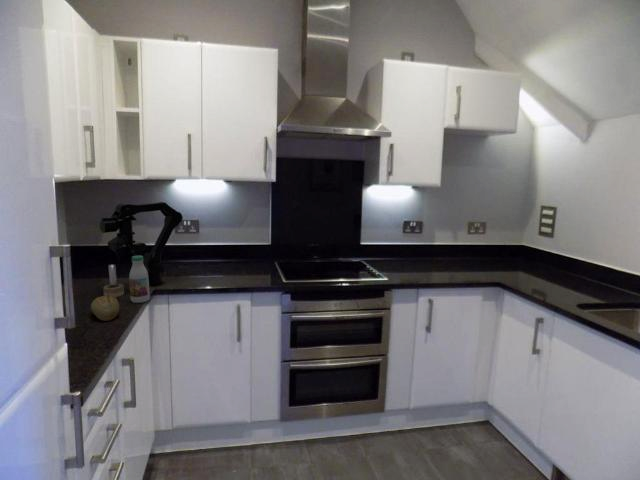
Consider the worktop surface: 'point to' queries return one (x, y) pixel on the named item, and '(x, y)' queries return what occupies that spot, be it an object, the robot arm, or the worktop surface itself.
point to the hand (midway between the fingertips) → (128, 263)
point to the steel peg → (112, 276)
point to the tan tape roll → (114, 290)
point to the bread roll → (105, 307)
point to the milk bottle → (139, 281)
